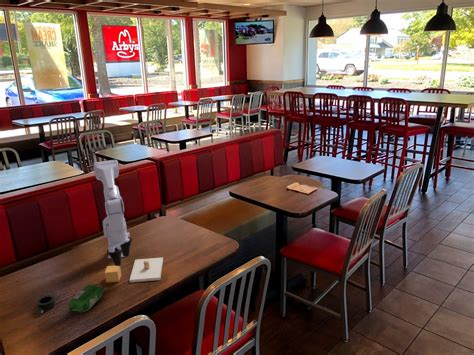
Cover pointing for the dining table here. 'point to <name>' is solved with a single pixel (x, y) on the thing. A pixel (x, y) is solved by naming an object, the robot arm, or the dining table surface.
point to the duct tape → (45, 303)
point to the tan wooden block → (112, 273)
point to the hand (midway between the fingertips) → (122, 260)
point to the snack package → (86, 298)
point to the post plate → (146, 270)
